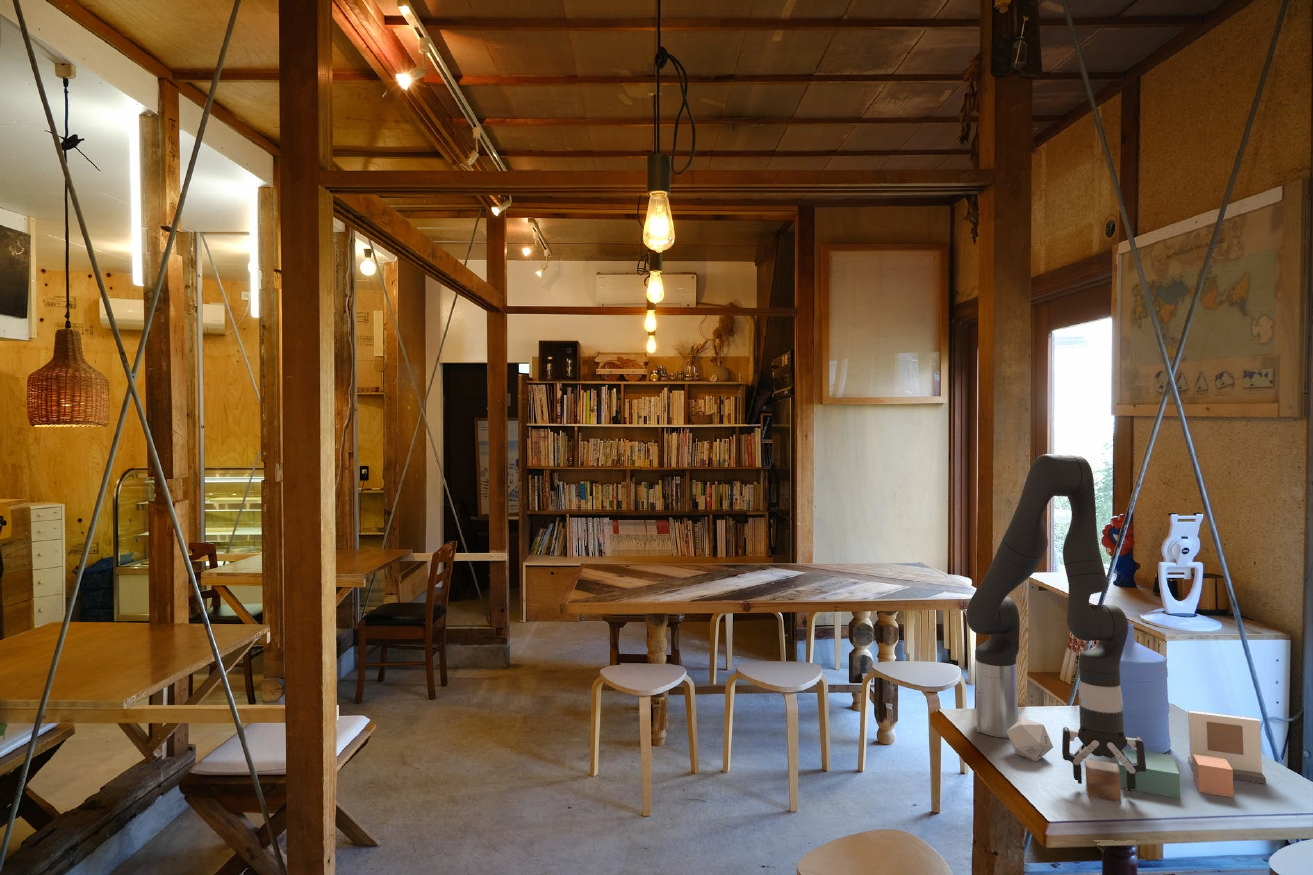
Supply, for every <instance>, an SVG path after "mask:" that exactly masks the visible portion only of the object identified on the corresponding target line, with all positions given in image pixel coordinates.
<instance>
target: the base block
mask: <svg viewBox="0 0 1313 875" xmlns="http://www.w3.org/2000/svg"><path fill="white" fill-rule="evenodd" d="M1122 751H1123V752H1124V753H1125V755H1126V756H1127V758H1128V759H1129V760H1130V761H1131V763H1136V762H1137V757H1136V750H1133V749H1127V748H1124V749H1123V750H1122ZM1144 753H1145V762H1146V771H1145V772H1142V771H1140V772H1137V773H1136V774H1135V778H1136V788H1135V789H1132V791H1137V792H1142V793H1143V792H1144V793H1149V794H1154V795H1159V796H1167V797H1171V798H1177V799H1181V780H1180V777H1181V776H1180V772H1179V769H1178V767H1177V764H1176V762H1175V760H1174V757H1173V755H1172V754H1166V753H1163V754H1160V753H1153V752H1147V751H1144ZM1115 764H1117V766H1118V770H1119V773H1120V786H1121V789H1125V790H1127V785H1126V768H1125V766H1124V765H1123V764H1122V763H1121V762H1120V761H1119V760H1118V758H1117V757H1115Z"/></svg>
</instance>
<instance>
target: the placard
mask: <svg viewBox="0 0 1313 875" xmlns="http://www.w3.org/2000/svg"><path fill="white" fill-rule="evenodd" d="M1187 712H1188V717H1187V718H1188V737H1189V738H1188V742H1189V756H1187V762H1188V764H1189V766H1190V768H1191V770H1192V771H1193V754H1194V755H1201V756H1208V757H1215V758H1222V759H1226V760H1227V762H1228V763H1229V765H1230V766H1231V768H1232V769H1233V780H1237V779H1240V780H1239V781H1244V780H1245V782H1250V781H1254V782H1253V783H1257V782H1259V783H1258V784H1264V783H1266V784H1267V779H1266V776H1265V775H1264V773H1263V764H1262V762H1263V761H1262V738H1261V736H1262V734H1261V720H1260V719H1259V718H1253V717H1244V716H1237V715H1236V716H1235V715H1230V714H1229V715H1228V714H1219V713H1212V712H1202V711H1194V710H1188V711H1187ZM1246 780H1247V781H1246Z"/></svg>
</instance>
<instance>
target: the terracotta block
mask: <svg viewBox="0 0 1313 875" xmlns="http://www.w3.org/2000/svg"><path fill="white" fill-rule="evenodd" d="M1192 773H1193V782H1194V785H1195V786H1196V787H1197V790H1198V791H1199V792H1200V793H1204V794H1211V795H1217V796H1224V797H1231V798H1235V797H1234V796H1235V795H1234V794H1235V792H1234V779H1233V769H1232V768H1231V766H1230V765H1229V763H1228V762H1227V760H1226V759H1222V758H1215V757H1208V756H1201V755H1194V754H1193V770H1192Z"/></svg>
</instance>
